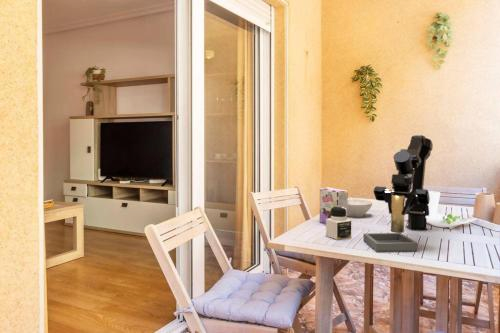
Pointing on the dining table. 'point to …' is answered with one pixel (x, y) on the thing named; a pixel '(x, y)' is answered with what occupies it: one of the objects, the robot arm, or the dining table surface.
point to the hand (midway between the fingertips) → (396, 213)
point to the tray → (390, 242)
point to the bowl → (357, 207)
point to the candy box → (331, 201)
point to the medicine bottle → (338, 224)
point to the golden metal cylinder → (397, 213)
